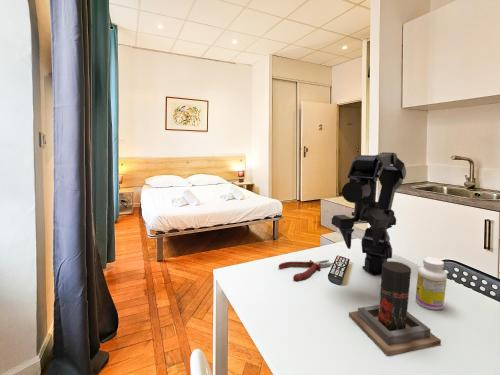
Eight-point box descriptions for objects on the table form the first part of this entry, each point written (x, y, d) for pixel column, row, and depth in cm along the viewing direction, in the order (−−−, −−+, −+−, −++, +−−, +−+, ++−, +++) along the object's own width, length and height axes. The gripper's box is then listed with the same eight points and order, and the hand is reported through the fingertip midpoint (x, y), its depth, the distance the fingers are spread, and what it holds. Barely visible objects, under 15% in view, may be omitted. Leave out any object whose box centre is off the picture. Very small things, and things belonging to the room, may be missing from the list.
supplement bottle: (418, 294, 81) (423, 253, 79) (445, 303, 77) (450, 260, 75) (412, 303, 77) (416, 260, 75) (440, 314, 72) (445, 268, 70)
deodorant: (410, 333, 63) (416, 272, 61) (384, 332, 64) (389, 272, 61) (397, 317, 69) (402, 261, 67) (373, 316, 69) (378, 261, 67)
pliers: (342, 271, 97) (342, 264, 97) (295, 283, 89) (295, 276, 89) (321, 259, 108) (321, 253, 107) (277, 269, 99) (277, 262, 99)
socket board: (394, 308, 75) (395, 298, 74) (440, 344, 61) (441, 332, 61) (348, 315, 72) (349, 305, 71) (386, 355, 58) (388, 343, 58)
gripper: (353, 204, 72) (350, 260, 74) (413, 201, 76) (408, 254, 79) (331, 196, 83) (329, 246, 85) (384, 194, 87) (381, 241, 89)
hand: (362, 247), depth 84 cm, fingers open, 9 cm apart
